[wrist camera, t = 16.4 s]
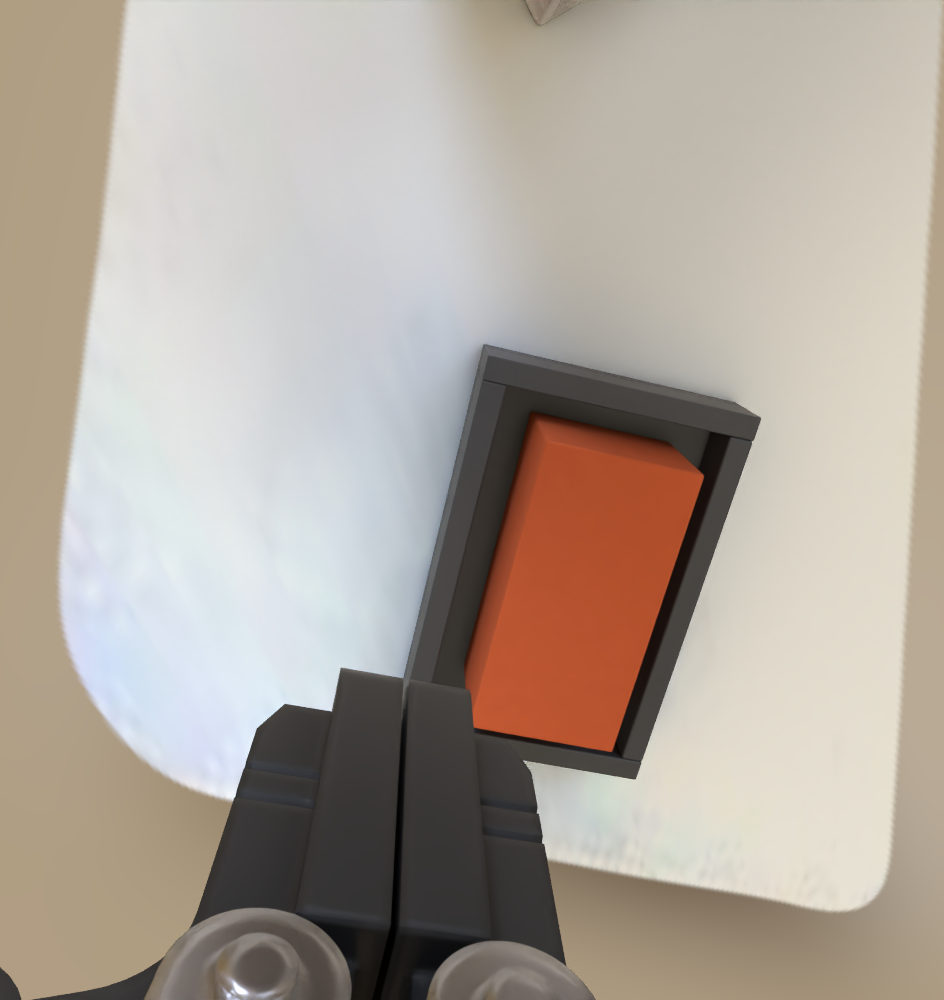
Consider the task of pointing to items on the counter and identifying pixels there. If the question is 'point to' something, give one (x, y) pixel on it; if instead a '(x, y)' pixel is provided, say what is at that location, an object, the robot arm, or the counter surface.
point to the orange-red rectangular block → (576, 580)
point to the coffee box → (549, 8)
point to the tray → (483, 497)
